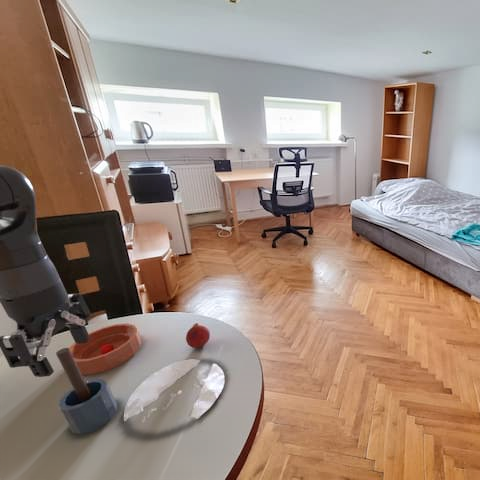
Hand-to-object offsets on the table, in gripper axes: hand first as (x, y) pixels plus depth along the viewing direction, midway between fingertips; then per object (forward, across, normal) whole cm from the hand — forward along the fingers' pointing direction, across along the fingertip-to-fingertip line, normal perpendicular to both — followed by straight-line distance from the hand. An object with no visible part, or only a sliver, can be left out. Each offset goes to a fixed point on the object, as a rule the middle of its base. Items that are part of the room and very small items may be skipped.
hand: (65, 357), depth 55 cm
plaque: (+17, -4, +15) cm, 23 cm away
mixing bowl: (+17, -20, -10) cm, 28 cm away
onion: (+17, -20, +14) cm, 30 cm away
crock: (+17, 0, 0) cm, 17 cm away
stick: (+16, 0, 0) cm, 16 cm away
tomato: (+15, -20, -10) cm, 27 cm away
